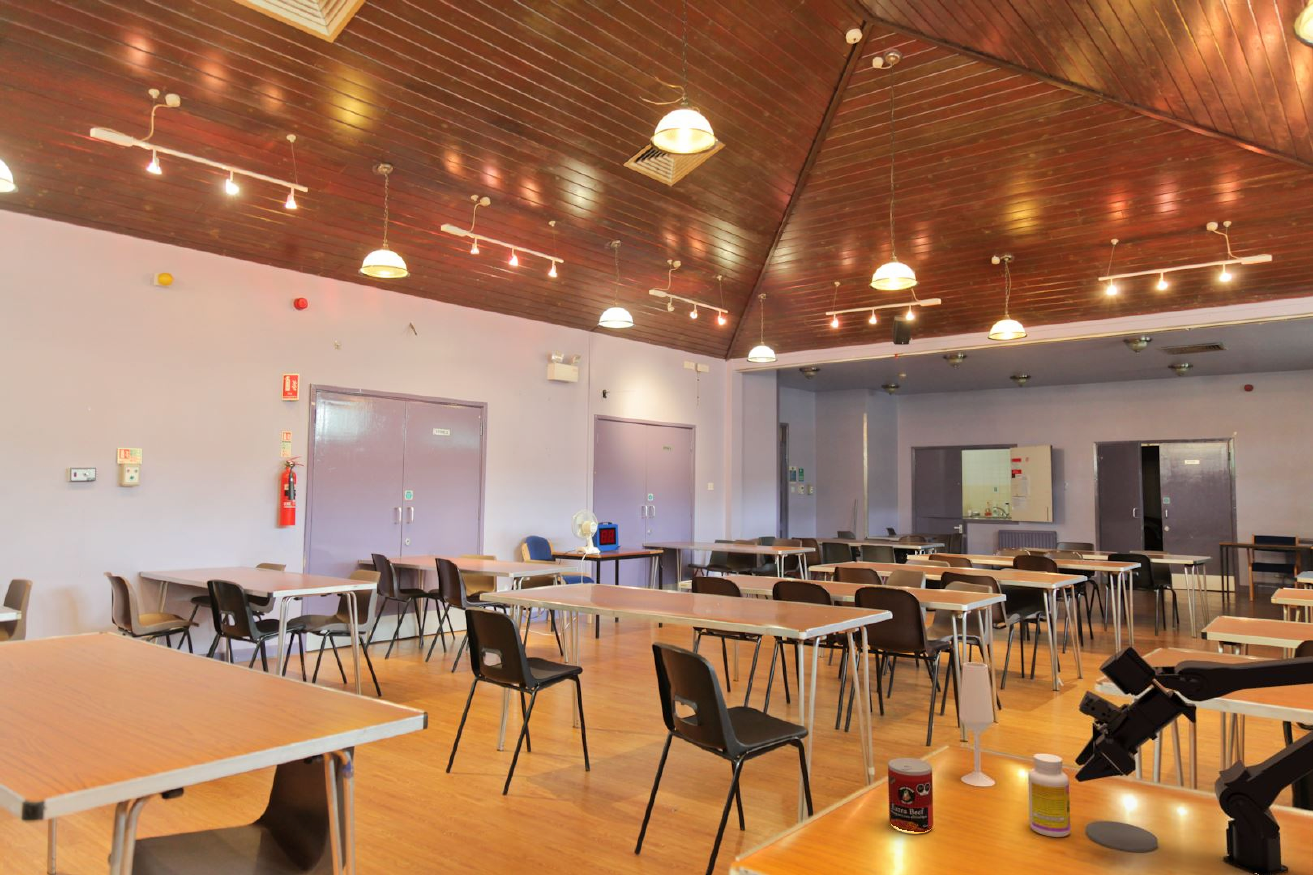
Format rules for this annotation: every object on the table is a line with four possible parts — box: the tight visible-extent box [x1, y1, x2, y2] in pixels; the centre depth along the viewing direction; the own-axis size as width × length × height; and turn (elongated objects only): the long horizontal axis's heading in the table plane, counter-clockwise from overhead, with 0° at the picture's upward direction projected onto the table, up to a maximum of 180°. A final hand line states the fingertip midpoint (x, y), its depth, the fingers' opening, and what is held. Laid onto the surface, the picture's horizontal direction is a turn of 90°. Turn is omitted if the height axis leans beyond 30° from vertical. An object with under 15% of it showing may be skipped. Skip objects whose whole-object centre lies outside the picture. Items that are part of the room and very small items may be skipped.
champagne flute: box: [959, 661, 996, 787], centre depth 173 cm, size 7×7×24 cm
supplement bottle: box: [1027, 753, 1071, 838], centre depth 148 cm, size 7×7×13 cm
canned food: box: [887, 757, 934, 832], centre depth 149 cm, size 8×8×11 cm
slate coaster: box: [1085, 820, 1159, 853], centre depth 144 cm, size 11×11×1 cm
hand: (1076, 771), depth 146 cm, fingers open, 9 cm apart
